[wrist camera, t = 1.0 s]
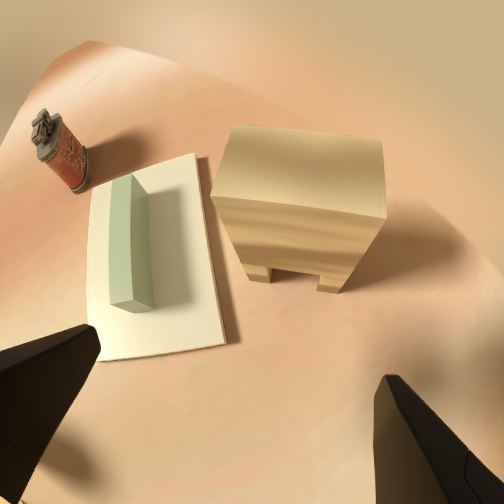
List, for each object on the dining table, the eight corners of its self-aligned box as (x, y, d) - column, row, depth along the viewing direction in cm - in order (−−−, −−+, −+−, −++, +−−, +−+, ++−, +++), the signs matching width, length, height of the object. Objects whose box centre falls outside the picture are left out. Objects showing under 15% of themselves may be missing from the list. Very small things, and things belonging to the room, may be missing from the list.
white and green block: (227, 343, 20) (211, 339, 16) (98, 361, 21) (64, 358, 17) (197, 158, 27) (183, 127, 23) (97, 192, 28) (75, 169, 23)
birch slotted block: (337, 293, 21) (386, 218, 10) (249, 280, 22) (209, 195, 11) (342, 245, 22) (381, 141, 11) (259, 233, 23) (233, 125, 12)
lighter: (70, 157, 31) (31, 111, 22) (90, 144, 31) (52, 94, 22) (71, 199, 28) (19, 150, 19) (93, 185, 28) (43, 130, 19)
